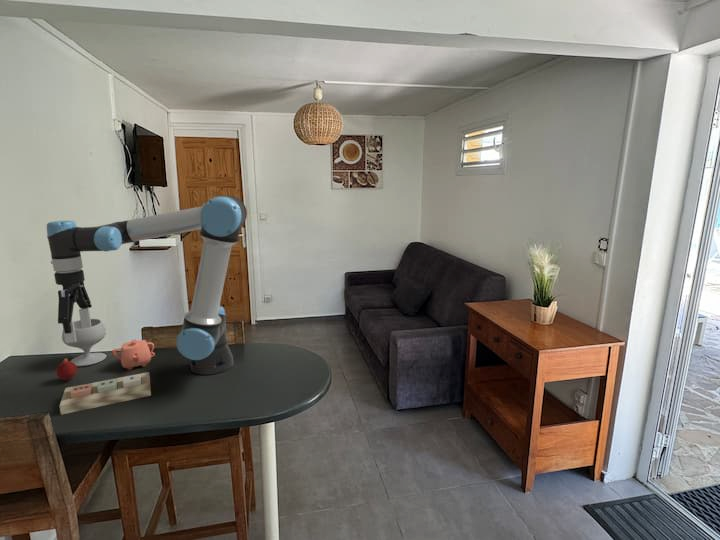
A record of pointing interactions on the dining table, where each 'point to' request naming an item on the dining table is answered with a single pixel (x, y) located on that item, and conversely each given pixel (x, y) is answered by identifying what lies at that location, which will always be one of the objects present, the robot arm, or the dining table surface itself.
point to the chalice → (87, 342)
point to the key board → (105, 396)
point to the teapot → (135, 354)
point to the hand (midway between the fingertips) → (79, 334)
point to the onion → (66, 370)
